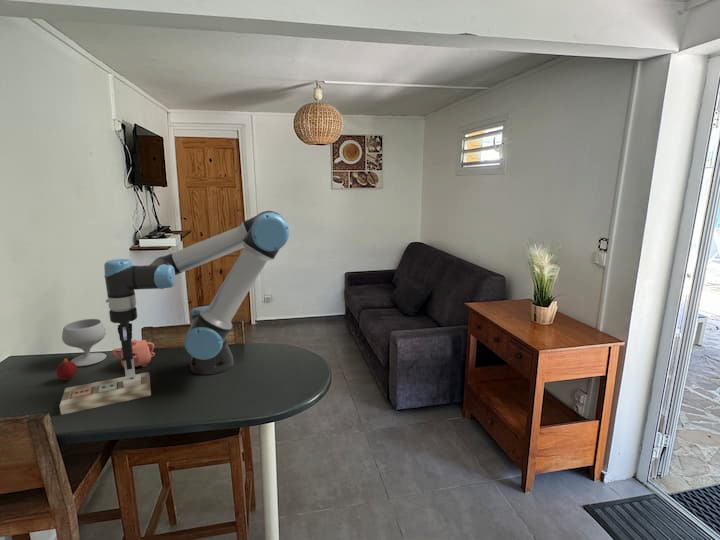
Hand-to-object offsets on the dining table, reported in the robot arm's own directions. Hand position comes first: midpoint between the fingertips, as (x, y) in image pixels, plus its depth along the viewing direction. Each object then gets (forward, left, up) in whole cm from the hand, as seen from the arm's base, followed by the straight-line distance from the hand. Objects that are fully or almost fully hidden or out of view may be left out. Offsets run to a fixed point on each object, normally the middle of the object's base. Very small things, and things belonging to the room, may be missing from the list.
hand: (130, 376), depth 135 cm
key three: (+12, +7, -5) cm, 15 cm away
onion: (+27, -7, -5) cm, 28 cm away
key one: (0, 0, -4) cm, 4 cm away
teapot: (+10, -19, -5) cm, 22 cm away
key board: (+6, +3, -5) cm, 8 cm away
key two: (+6, +3, -5) cm, 8 cm away
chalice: (+31, -23, -5) cm, 38 cm away
